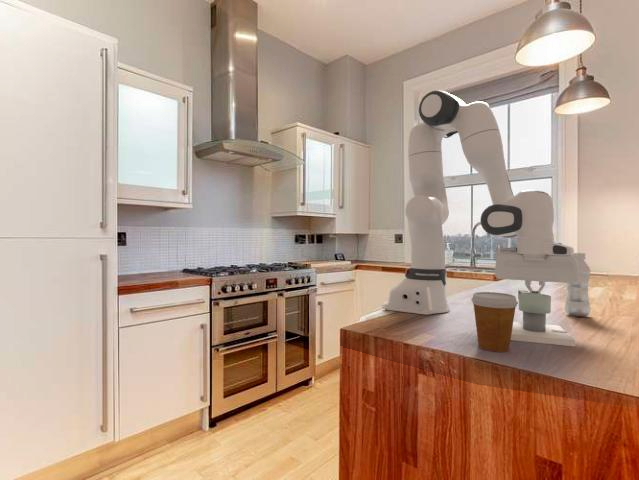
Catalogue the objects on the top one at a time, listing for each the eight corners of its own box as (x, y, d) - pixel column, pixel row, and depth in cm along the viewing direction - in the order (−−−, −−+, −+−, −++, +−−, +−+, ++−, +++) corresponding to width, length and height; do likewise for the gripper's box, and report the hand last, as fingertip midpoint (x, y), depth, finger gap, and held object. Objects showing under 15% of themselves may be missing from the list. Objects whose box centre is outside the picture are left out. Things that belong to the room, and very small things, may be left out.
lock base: (506, 339, 86) (506, 315, 86) (500, 325, 99) (500, 304, 99) (575, 346, 81) (575, 320, 81) (559, 331, 94) (559, 308, 94)
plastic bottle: (595, 318, 107) (596, 253, 107) (570, 317, 109) (571, 253, 108) (583, 314, 114) (584, 252, 113) (560, 313, 115) (561, 252, 115)
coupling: (554, 314, 85) (554, 298, 85) (521, 312, 87) (522, 296, 87) (535, 301, 102) (535, 288, 101) (508, 300, 104) (508, 286, 104)
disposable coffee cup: (477, 338, 87) (477, 290, 86) (521, 346, 81) (521, 294, 80) (465, 348, 79) (465, 295, 79) (512, 357, 73) (513, 300, 73)
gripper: (492, 247, 102) (492, 295, 102) (579, 248, 89) (579, 302, 90) (496, 247, 107) (496, 292, 107) (579, 247, 95) (579, 299, 95)
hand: (535, 297), depth 98 cm, fingers closed
